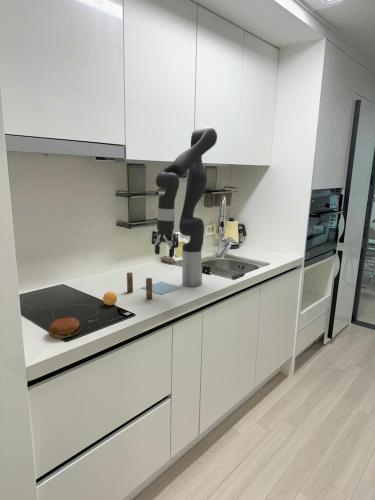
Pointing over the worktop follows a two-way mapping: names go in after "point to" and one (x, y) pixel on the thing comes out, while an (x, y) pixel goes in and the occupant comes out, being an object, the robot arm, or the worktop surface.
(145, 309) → the worktop surface
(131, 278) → the post
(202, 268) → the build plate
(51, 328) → the burger
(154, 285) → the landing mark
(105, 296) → the ball
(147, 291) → the post
